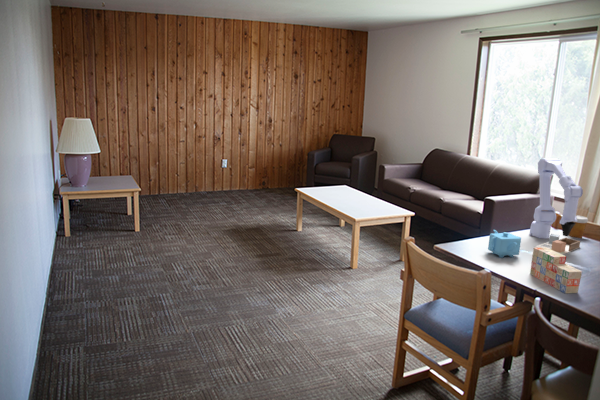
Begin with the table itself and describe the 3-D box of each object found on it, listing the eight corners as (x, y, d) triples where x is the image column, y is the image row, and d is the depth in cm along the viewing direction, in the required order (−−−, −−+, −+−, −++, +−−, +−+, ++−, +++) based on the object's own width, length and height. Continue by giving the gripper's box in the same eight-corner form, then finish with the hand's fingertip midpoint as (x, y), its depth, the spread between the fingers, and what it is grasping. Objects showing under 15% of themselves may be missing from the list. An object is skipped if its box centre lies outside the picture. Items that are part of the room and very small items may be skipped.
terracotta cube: (551, 250, 238) (552, 241, 237) (555, 248, 241) (557, 240, 240) (560, 252, 235) (561, 244, 234) (564, 251, 237) (566, 242, 236)
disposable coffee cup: (583, 237, 267) (587, 216, 264) (585, 241, 258) (589, 220, 256) (564, 234, 271) (568, 214, 268) (565, 238, 262) (569, 217, 259)
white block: (548, 242, 250) (549, 235, 249) (550, 241, 253) (551, 233, 252) (557, 244, 248) (558, 237, 247) (558, 242, 251) (559, 235, 250)
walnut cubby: (554, 247, 243) (555, 241, 243) (564, 243, 250) (565, 237, 249) (569, 251, 238) (570, 244, 237) (579, 247, 244) (580, 241, 244)
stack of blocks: (578, 293, 190) (583, 264, 187) (564, 294, 189) (569, 264, 186) (541, 273, 210) (546, 246, 207) (529, 273, 209) (533, 247, 206)
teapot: (499, 261, 223) (502, 238, 220) (477, 249, 240) (480, 227, 237) (528, 260, 226) (532, 237, 223) (505, 247, 243) (508, 226, 241)
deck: (533, 248, 243) (533, 246, 243) (551, 242, 255) (552, 240, 255) (562, 256, 232) (562, 254, 232) (579, 249, 244) (580, 247, 244)
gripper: (572, 213, 229) (567, 240, 233) (584, 209, 238) (580, 235, 241) (557, 210, 235) (552, 236, 238) (570, 206, 243) (565, 231, 247)
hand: (565, 235), depth 240 cm, fingers closed
